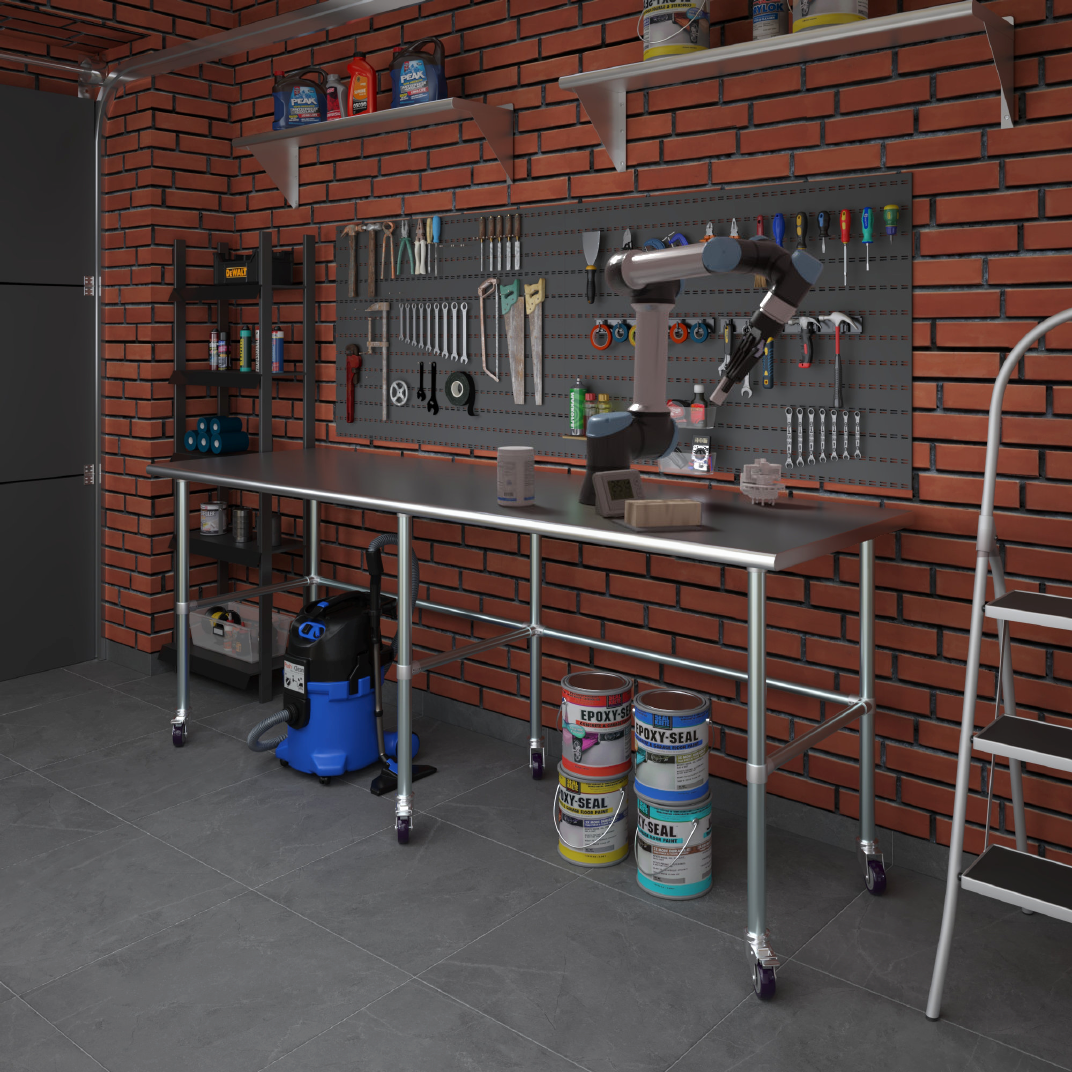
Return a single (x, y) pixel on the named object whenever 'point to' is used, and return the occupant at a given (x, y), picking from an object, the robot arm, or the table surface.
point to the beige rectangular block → (663, 512)
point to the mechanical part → (761, 481)
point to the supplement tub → (515, 476)
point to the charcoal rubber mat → (656, 527)
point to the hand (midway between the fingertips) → (715, 401)
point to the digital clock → (616, 491)
